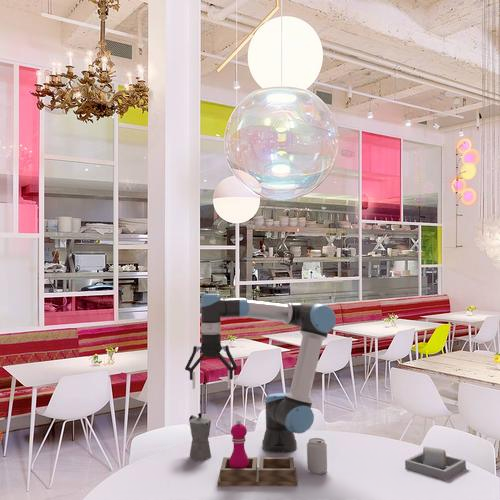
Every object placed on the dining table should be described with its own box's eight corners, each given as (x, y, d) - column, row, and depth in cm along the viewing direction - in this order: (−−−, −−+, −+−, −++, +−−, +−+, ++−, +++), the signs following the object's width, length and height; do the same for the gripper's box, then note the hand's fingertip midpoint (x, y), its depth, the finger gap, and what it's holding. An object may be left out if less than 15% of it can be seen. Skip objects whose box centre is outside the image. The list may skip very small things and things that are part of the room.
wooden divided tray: (296, 471, 202) (295, 456, 203) (297, 486, 188) (297, 470, 189) (221, 471, 204) (221, 456, 204) (217, 486, 190) (217, 470, 190)
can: (323, 476, 197) (323, 444, 198) (304, 473, 200) (304, 441, 201) (329, 469, 204) (328, 438, 204) (311, 466, 207) (310, 435, 208)
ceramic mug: (447, 471, 200) (446, 451, 200) (424, 470, 202) (423, 449, 202) (443, 462, 210) (443, 442, 211) (422, 460, 212) (421, 441, 213)
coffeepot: (218, 458, 217) (217, 414, 218) (198, 463, 212) (197, 418, 213) (199, 448, 230) (199, 407, 231) (180, 453, 225) (180, 410, 225)
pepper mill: (246, 478, 192) (246, 423, 193) (227, 477, 194) (226, 422, 194) (250, 471, 199) (250, 417, 200) (232, 470, 201) (231, 417, 201)
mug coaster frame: (426, 457, 215) (426, 450, 215) (465, 468, 203) (465, 460, 203) (405, 468, 204) (405, 460, 204) (445, 480, 192) (445, 471, 192)
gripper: (177, 334, 202) (178, 390, 201) (242, 334, 202) (243, 389, 201) (180, 332, 209) (180, 386, 208) (242, 331, 209) (243, 385, 208)
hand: (211, 388), depth 205 cm, fingers open, 13 cm apart
